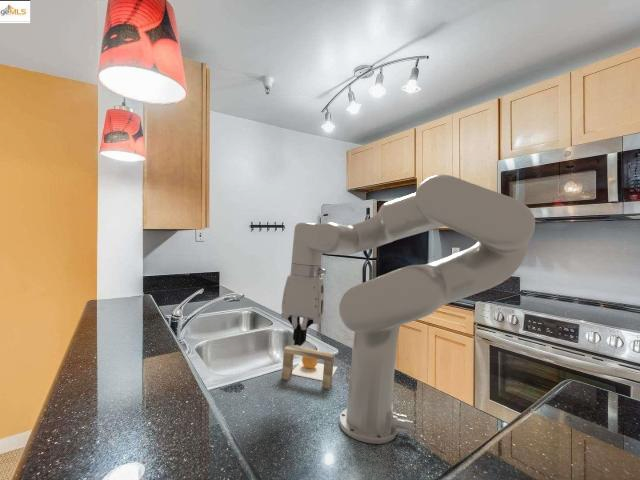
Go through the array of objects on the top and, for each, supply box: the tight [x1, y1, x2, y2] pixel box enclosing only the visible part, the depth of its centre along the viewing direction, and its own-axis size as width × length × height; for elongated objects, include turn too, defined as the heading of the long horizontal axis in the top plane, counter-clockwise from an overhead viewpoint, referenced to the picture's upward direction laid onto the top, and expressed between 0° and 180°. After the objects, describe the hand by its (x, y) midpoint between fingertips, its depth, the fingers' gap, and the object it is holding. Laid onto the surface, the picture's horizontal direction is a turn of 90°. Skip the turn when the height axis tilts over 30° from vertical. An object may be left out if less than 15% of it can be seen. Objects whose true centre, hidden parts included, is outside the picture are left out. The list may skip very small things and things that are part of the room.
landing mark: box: [292, 360, 339, 382], centre depth 95 cm, size 12×12×1 cm
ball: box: [301, 356, 319, 369], centre depth 97 cm, size 5×5×5 cm
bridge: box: [281, 344, 335, 390], centre depth 87 cm, size 3×14×9 cm, turn 75°
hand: (299, 343), depth 78 cm, fingers closed
